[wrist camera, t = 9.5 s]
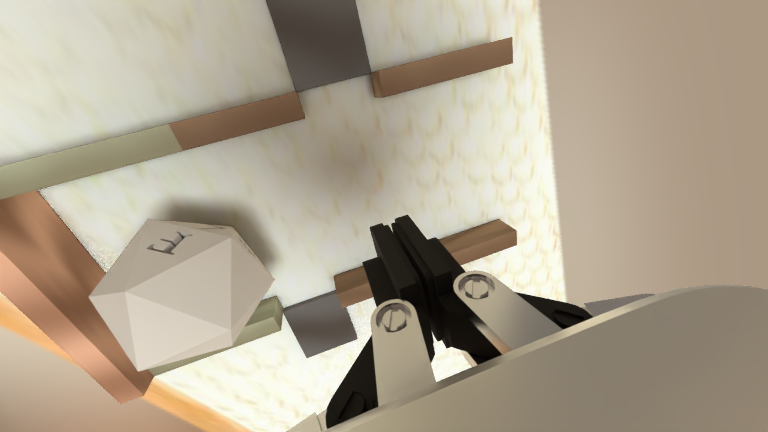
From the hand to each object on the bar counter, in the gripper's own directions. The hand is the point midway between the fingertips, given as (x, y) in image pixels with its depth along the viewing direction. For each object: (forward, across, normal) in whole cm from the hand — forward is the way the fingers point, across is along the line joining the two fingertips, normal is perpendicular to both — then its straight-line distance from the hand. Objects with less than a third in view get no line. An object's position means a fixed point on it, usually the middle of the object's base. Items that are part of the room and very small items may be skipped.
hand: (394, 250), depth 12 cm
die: (+11, +12, +3) cm, 16 cm away
